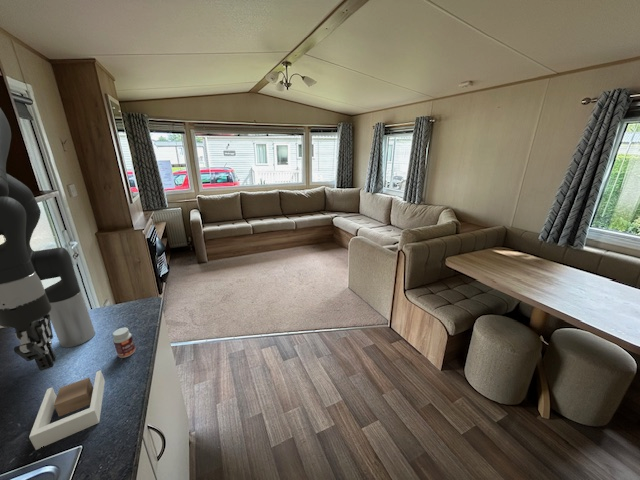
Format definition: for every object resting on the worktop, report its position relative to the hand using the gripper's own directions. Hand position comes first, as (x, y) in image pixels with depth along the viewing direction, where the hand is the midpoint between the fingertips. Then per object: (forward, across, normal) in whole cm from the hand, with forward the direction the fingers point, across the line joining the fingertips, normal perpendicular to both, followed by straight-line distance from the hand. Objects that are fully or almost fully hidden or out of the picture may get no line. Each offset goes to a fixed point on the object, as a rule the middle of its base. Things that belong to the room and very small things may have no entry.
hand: (48, 364), depth 59 cm
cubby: (+17, -3, 0) cm, 17 cm away
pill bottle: (+17, -20, +10) cm, 28 cm away
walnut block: (+17, -6, 0) cm, 18 cm away
